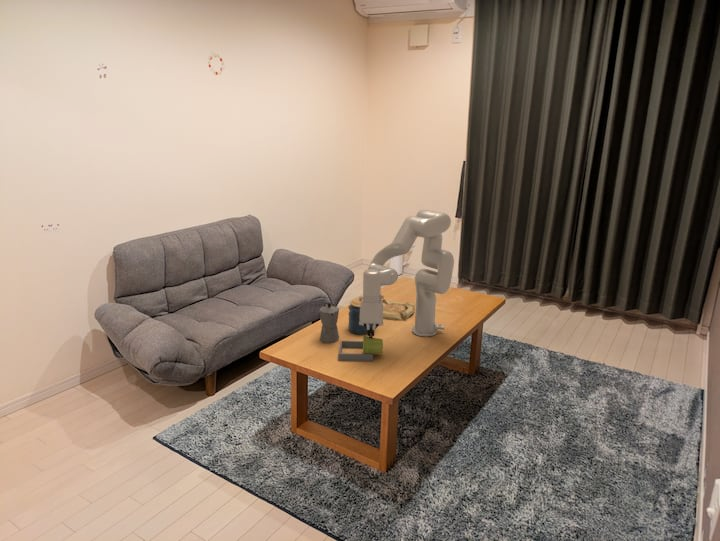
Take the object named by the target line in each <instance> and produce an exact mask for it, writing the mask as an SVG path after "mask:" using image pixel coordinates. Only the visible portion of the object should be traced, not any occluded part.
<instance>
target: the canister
mask: <svg viewBox="0 0 720 541" xmlns="http://www.w3.org/2000/svg"><path fill="white" fill-rule="evenodd" d="M362 299H363V295H360V296H359V297H356V298H353V299H352V300H350V302H349V305H348V306H347V307H348V310H349V311H348V313H347V314H348V326H347V327H348V330H349V332H351V333H352V334H357V335H368V330H367V328H366V327H365V326H362V325H359V321H360V304H361V300H362ZM372 326H373V324H370V327H371V328H372Z"/></svg>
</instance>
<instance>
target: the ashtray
mask: <svg viewBox="0 0 720 541" xmlns="http://www.w3.org/2000/svg"><path fill="white" fill-rule="evenodd" d="M381 300H382V304H383V320H388V321H391V320H392V321H399V322H402V321H407V320H408V319H409V317H410V316H411V315H414V314H415V313H416V310H415V308H416V304H415V303H414V302H410V301H409V302H408V301H407V302H404V301H402V302H401V301H389V300H388V299H386V298H384V299H381Z"/></svg>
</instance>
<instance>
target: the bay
mask: <svg viewBox="0 0 720 541" xmlns="http://www.w3.org/2000/svg"><path fill="white" fill-rule="evenodd" d="M343 348H345V349H346V348H347V349H349V348H351V349H353V348H354V349H363V340H362V341H361V340H340V343H339V350H338V357H337V358H338V360H337V361H344V362H345V361H349V362H352V361H353V362H354V361H357V362H373V360H374V357H373V356H374V354H363V353H352V352H349V353H348V352H347V353H345V352H343ZM342 352H343V353H342Z"/></svg>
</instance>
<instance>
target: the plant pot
mask: <svg viewBox="0 0 720 541" xmlns="http://www.w3.org/2000/svg"><path fill="white" fill-rule="evenodd" d="M362 341H363V348H362V354H373V355H377V354H383V353H384V351H383V349H384V343H383V342H384V339H383V338H376V337H373V339H372V338H369V336H368V335H365V334H362Z"/></svg>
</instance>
